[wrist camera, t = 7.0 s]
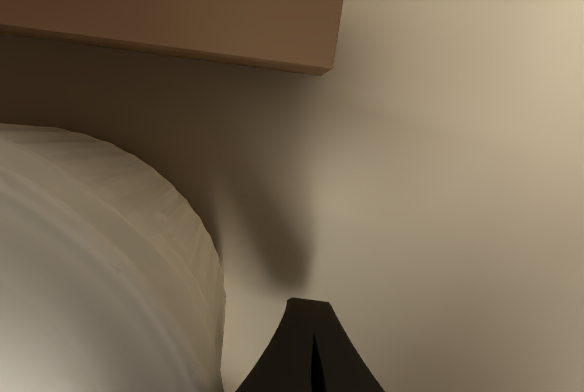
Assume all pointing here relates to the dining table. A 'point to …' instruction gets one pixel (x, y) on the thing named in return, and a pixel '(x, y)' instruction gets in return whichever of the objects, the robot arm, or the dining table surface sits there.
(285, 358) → the robot arm
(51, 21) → the shallow wooden tray
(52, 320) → the ramekin
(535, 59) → the dining table surface
